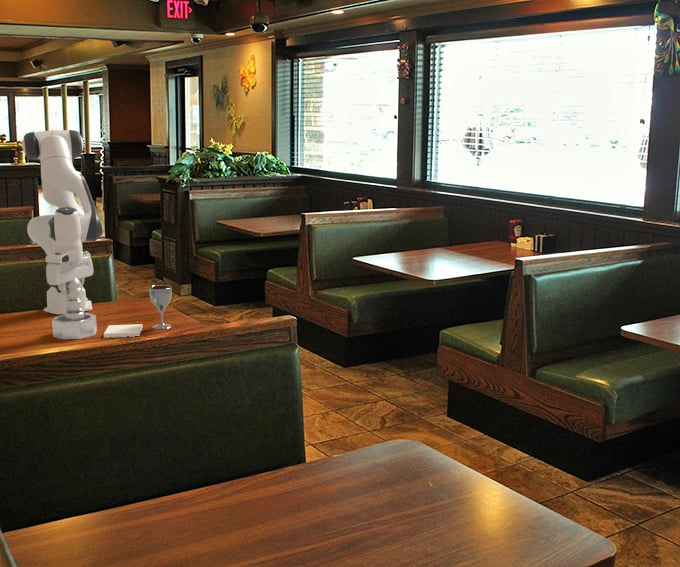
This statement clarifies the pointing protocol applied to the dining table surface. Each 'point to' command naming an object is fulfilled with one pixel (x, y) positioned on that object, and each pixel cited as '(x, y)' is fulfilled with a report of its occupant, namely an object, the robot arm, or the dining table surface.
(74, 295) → the plastic bottle
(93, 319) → the steel collar
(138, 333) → the ceramic pad
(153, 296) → the wine glass
